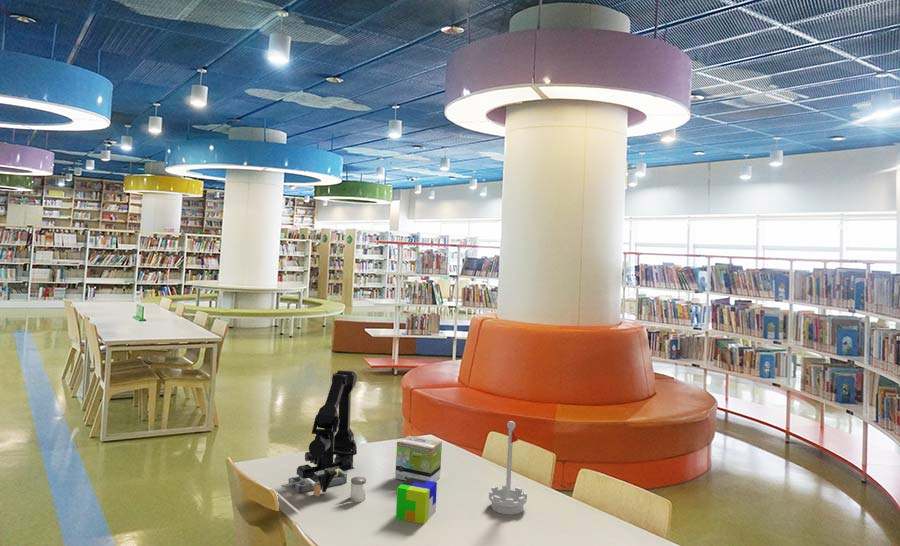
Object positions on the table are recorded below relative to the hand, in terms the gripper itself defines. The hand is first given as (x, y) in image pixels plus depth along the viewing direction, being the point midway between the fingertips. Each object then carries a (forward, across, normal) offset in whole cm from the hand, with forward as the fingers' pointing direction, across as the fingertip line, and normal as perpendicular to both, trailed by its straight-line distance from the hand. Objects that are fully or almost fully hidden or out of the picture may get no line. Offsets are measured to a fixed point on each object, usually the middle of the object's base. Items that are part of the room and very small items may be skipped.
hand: (323, 492), depth 204 cm
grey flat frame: (+1, -2, -10) cm, 10 cm away
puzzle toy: (+2, -18, +31) cm, 36 cm away
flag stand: (+1, -48, +43) cm, 64 cm away
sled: (+1, +7, -6) cm, 9 cm away
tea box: (+1, -37, +5) cm, 38 cm away
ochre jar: (0, -7, -10) cm, 12 cm away
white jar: (+1, -8, +10) cm, 13 cm away
